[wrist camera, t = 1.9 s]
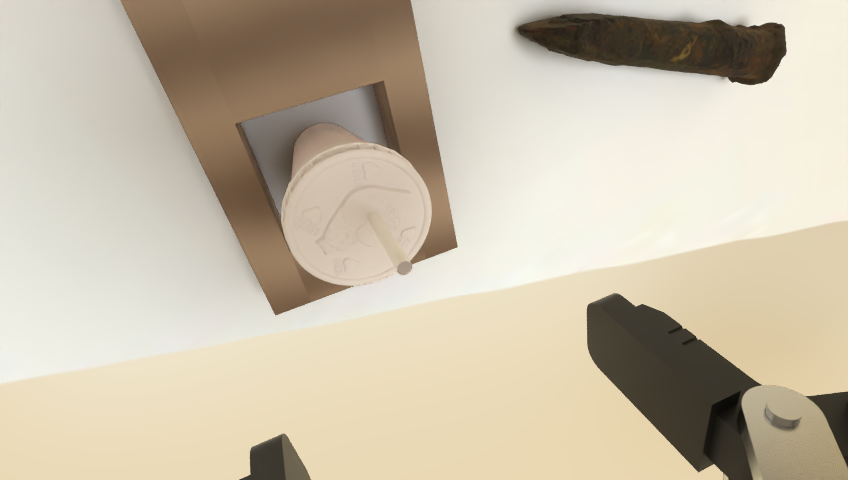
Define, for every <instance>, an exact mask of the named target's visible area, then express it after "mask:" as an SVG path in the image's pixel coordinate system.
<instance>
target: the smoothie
mask: <svg viewBox="0 0 848 480" xmlns="http://www.w3.org/2000/svg"><path fill="white" fill-rule="evenodd" d="M431 215H432V207H431V199H430V195H429V192H428V189H427V187H426V185H425V183H424V181H423V179H422V178H421V176H420V175H419V174H418V172H417V171H416V170H415V169H414V167H413V166H412V165H411V163H410V162H409V161H408V160H407V159H405V158H404V157H402V156H401V155H400V154H398V153H397V152H396V151H394V150H392V149H389V148H386V147H384V146H381V145H378V144H373V143H367V142H365V141H363V140H362V139H360V138H358V137H357V136H355V135H353V134H352V133H350V132H348V131H347V130H345V129H343V128H342V127H340V126H338V125H335V124H331V123H320V124H316V125H313V126H311V127H309V128H307V129H306V130H304V131H303V132H302V133H301V134H300V136H299V137H298V139H297V141H296V143H295V146H294V151H293V164H292V177H291V181H290V183H289V184H288V187H287V190H286V193H285V195H284V198H283V201H282V209H281V224H282V228H283V232H284V236H285V240H286V241H287V243H288V246H289V248H290V251H291V253H292V254H293V256H294V258H295V259H296V260H297V262H298V263H299V264H300V265H301V266H302V267H303V268H304V269H305V270H306V271H308V272H309V273H310V274H312V275H313V276H315V277H317V278H319V279H321V280H324V281H326V282H329V283H333V284H337V285H346V286H356V285H365V284H370V283H373V282H377V281H380V280H382V279H385V278H387V277H389V276H391V275H392V274H394V273H396V272H398V273H399V274H401V275H405V274H408V273H409V272H410V271H411V269H412V264H411V262H410V261H411V260H412V258H413V257H414V256H415V255H416V254H417V252H418V251H419V250H420V248H421V246H422V245H423V243H424V241H425V239H426V236H427V234H428V231H429V227H430V223H431Z"/></svg>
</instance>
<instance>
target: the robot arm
mask: <svg viewBox="0 0 848 480" xmlns="http://www.w3.org/2000/svg"><path fill="white" fill-rule="evenodd" d="M587 344H588V350H589V353H590V355H591V357H592V359H593V361H594V363H595V364H596V365H597V367H598V368H599V369H600V370H601V371H602V372H603V373H604V374H605V375H606V376H607V377H608V378H609V379H610V380H611V382H613V384H614V385H615V386H616V387H617V388H618V389H619V390H620V391H621V392H622V393H623V394H624V395H625V396H626V397H627V398H628V399H629V400H630V401H631V402H632V403H633V404H634V406H635V407H636V408H637V409H638V410H639V411H640V412H641V413H642V414H643V415H644V416H645V417H646V418H647V419H648V420H649V421H650V422H651V423H652V424H653V425H654V426H655V427H656V428H657V429H658V430H659V432H660V433H661V434H662V435H663V436H664V437H665V438H666V439H667V440H668V441H669V442H670V443H671V444H672V445H673V446H674V447H675V448H676V449H677V450H678V451H679V452H680V453H681V455H682V456H684V458H685V459H686V460H687V461H688V462H689V463H690V464H691V465H692V466H693V467H694V468H695V469H696V470H697V471H698V472H700V471H701V470H704V469H705V468H707V467H709V466H711V465H713V464H715V465H716V466H717V467H718V468H719V469H720V470H721V471H722V472H723V480H848V392H840V393H832V394H824V395H816V396H804V395H802V394H800V393H798V392H796V391H794V390H791V389H788V388H785V387H780V386H775V385H761V384H759V383H757V382H756V381H754V380H753V379H752V378H750V377H749V376H748V375H746V374H745V373H744V372H742V371H741V370H740V369H738V368H737V367H736V366H734V365H733V364H732V363H731V362H729V361H728V360H727V359H725V358H724V357H722V356H721V355H720V354H719V353H717V352H716V351H715V350H713V349H712V348H711V347H709V346H708V345H707V344H705V343H704V342H703V341H701V340H697V338H696V336H695V335H693V334H692V333H691V332H689V331H688V330H687V329H683V328H682V326H681V325H680V324H679V323H677V322H676V321H675V320H673V319H672V318H671V317H669V316H668V315H667V314H665V313H664V312H661V311H659V310H656V309H654V308H651V307H649V306H646V305H643V304H641V305H639V306H637V307H635V306H634V305H632V303H630V302H629V301H628V300H626V299H625V298H624V297H623V296H621V295H619V294H615V293H614V294H611V295H609V296H607V297H604V298H602V299H600V300H597V301H595V302H593V303H590V304H589V305H588V307H587ZM250 472H251V475H249V476H247V477H244V478H242V479H240V480H311V479H310V477H309V474H308V472H307V470H306V468H305V466H304V465H303V463H302V461H301V459H300V458H299V456H298V454H297V452H296V451H295V449H294V447H293V446H292V444H291V442H290V441H289V439H288V437H287V436H286V435H285V434H281V435H279V436H277V437H274V438H272V439H270V440H268V441H265V442H263V443H260V444H258V445H256V446H253V447H252V448H251V451H250Z"/></svg>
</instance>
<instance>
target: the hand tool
mask: <svg viewBox="0 0 848 480" xmlns="http://www.w3.org/2000/svg"><path fill="white" fill-rule="evenodd" d="M518 30H519V32H520V34H522V35H523V36H524V37H526V38H528V39H530V40H531V41H533V42H537V43H539V44H540V45H541V46H544V47H546V48H547V49H548V50H550V51H553V52H557V53H560V54H564V55H567V56H570V57H574V58H578V59H582V60H586V61H596V62H600V63H603V64H608V65H613V66H618V65H627V66H637V67H649V68H654V69H661V70H668V71H679V72H688V73H699V74H707V75H718V76H725V77H728V79H729V80H730V81H731V82H732V83H733V82H738V83H741V84H747V85H755V84H759V83H763V82H767V81H768V80H769V79H770V78H771V77H772V76H773V74H774V72H775V70H776V69H777V67H778V66H779V64H780V62H781V59H782V58H783V57H784V56H785V55H786V51H787V50H786V41H785V27H784V26H783V25H782V24H777V23H766V24H763V25H761V26H756V25H754V26H750V27H745V26H742V25H737V26H736V27H735V26H731V25H728V24H726V23H725V22H723V21H721V20H710V21H706V22H702V23H693V22H679V21H664V20H653V19H643V18H636V17H627V16H612V15H601V14H595V13H591V14H569V15H563V16H560V17H554V18H550V19H546V20H540V21H536V22H533V23H528V24H524V25H522V26H520V27H519V28H518Z"/></svg>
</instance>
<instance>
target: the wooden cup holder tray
mask: <svg viewBox="0 0 848 480" xmlns="http://www.w3.org/2000/svg"><path fill="white" fill-rule="evenodd" d="M121 2H122V4H123V6H124V9H125V11H126V13H127V15H128V17H129V19H130V21H131V23H132V25H133V27H134V29H135V31H136V33H137V35H138V37H139V39H140V41H141V43H142V45H143V47H144V49H145V51H146V53H147V55H148V57H149V59H150V61H151V63H152V65H153V67H154V69H155V72H156V74H157V76H158V78H159V80H160V82H161V84H162V86H163V88H164V90H165V92H166V94H167V96H168V98H169V100H170V102H171V104H172V106H173V108H174V110H175V112H176V114H177V116H178V118H179V120H180V122H181V124H182V126H183V128H184V130H185V132H186V135H187V137H188V139H189V141H190V143H191V145H192V147H193V149H194V151H195V153H196V155H197V157H198V159H199V161H200V163H201V165H202V167H203V169H204V171H205V173H206V175H207V177H208V179H209V181H210V183H211V185H212V187H213V189H214V191H215V193H216V196H217V198H218V200H219V202H220V204H221V206H222V208H223V210H224V212H225V214H226V216H227V218H228V220H229V222H230V224H231V226H232V228H233V230H234V232H235V234H236V236H237V238H238V240H239V242H240V244H241V246H242V248H243V250H244V252H245V254H246V256H247V259H248V261H249V263H250V265H251V267H252V269H253V271H254V273H255V275H256V277H257V279H258V281H259V283H260V285H261V287H262V289H263V291H264V293H265V295H266V297H267V299H268V301H269V303H270V305H271V307H272V309H273V311H274V313H275V315H278V314H281V313H283V312H286V311H289V310H291V309H294V308H297V307H299V306H302V305H305V304H307V303H310V302H313V301H315V300H318V299H321V298H323V297H326V296H329V295H331V294H334V293H337V292H339V291H342V290H345V289H347V288H350V287H353V286H346V285H337V284H333V283H329V282H326V281H324V280H321V279H319V278H317V277H315V276H313V275H312V274H310V273H309V272H308V271H306V270H305V269H304V268H303V267H302V266H301V265H300V264H299V263H298V262H297V260H296V259H295V258H294V256H293V254H292V253H291V251H290V248H289V246H288V243H287V241H286V240H285V236H284V232H283V228H282V224H281V218H280V216H279V214H278V211H277V209H276V206H275V204H274V202H273V199H272V197H271V195H270V192H269V190H268V187H267V185H266V183H265V180H264V178H263V176H262V173H261V171H260V168H259V166H258V164H257V161H256V159H255V157H254V154H253V152H252V149H251V147H250V145H249V142H248V140H247V138H246V135H245V133H244V130H243V128H242V126H241V123H240V122H243V121H246V120H250V119H253V118H257V117H260V116H264V115H267V114H270V113H274V112H277V111H281V110H284V109H288V108H291V107H294V106H298V105H301V104H305V103H308V102H312V101H315V100H318V99H322V98H325V97H329V96H332V95H336V94H339V93H343V92H346V91H349V90H353V89H356V88H360V87H363V86H367V85H370V84H373V86H374V90H375V94H376V98H377V102H378V106H379V110H380V114H381V118H382V122H383V126H384V130H385V134H386V138H387V142H388V146H389V149H392V150H394V151H396V152H397V153H398V154H400V155H401V156H402V157H404V158H405V159H407V160H408V161H409V162H410V163H411V165H412V166H413V167H414V169H415V170H416V171H417V172H418V174H419V175H420V176H421V178H422V179H423V181H424V183H425V185H426V187H427V189H428V192H429V195H430V199H431V207H432V215H431V223H430V227H429V231H428V234H427V236H426V239H425V241H424V243H423V245H422V246H421V248H420V250H419V251H418V252H417V254H416V255H415V256H414V257H413V258H412V260H411V261H410V262H411V264H414V263H417V262H419V261H422V260H425V259H427V258H430V257H433V256H435V255H438V254H441V253H443V252H446V251H449V250H451V249H454V248H457V241H456V236H455V231H454V226H453V220H452V215H451V210H450V205H449V199H448V194H447V189H446V184H445V178H444V173H443V168H442V163H441V158H440V152H439V147H438V142H437V137H436V131H435V126H434V121H433V116H432V110H431V105H430V100H429V95H428V89H427V84H426V79H425V74H424V69H423V63H422V58H421V53H420V48H419V42H418V37H417V32H416V27H415V21H414V16H413V11H412V6H411V0H121Z"/></svg>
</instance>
